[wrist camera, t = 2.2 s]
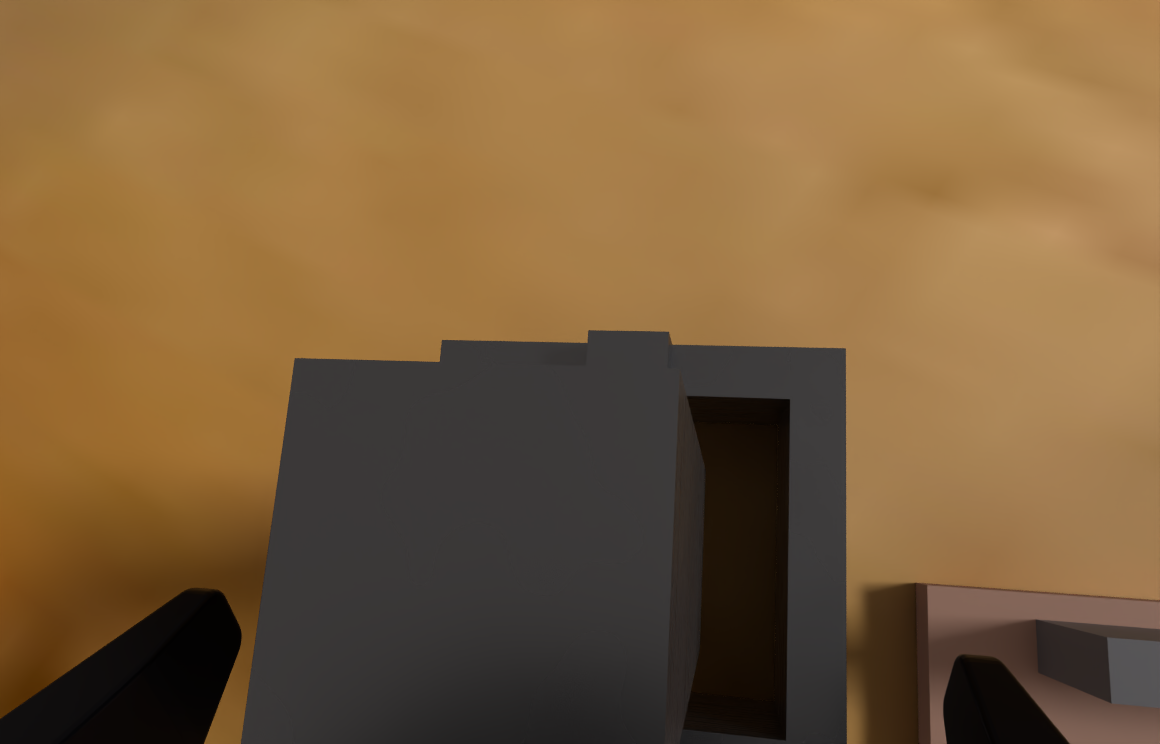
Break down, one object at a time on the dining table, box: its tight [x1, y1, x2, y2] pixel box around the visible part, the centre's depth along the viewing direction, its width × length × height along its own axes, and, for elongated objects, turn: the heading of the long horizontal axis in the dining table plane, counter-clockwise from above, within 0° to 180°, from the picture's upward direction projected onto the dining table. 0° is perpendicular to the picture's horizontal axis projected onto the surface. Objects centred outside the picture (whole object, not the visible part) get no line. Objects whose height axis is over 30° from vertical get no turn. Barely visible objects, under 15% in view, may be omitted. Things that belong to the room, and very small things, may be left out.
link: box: [241, 330, 847, 744], centre depth 12 cm, size 8×8×13 cm
